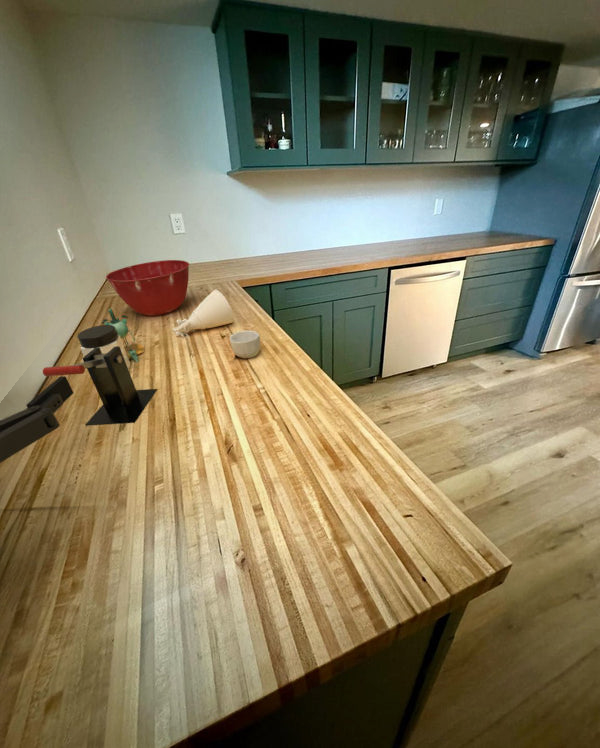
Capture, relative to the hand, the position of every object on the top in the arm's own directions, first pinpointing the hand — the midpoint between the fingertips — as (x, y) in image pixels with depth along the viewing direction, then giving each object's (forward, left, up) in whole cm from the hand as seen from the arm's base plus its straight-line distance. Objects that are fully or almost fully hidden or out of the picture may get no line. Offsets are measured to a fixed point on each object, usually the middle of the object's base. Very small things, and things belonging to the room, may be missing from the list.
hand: (19, 387), depth 46 cm
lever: (-2, +13, -5) cm, 14 cm away
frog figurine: (-19, +42, -18) cm, 49 cm away
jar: (-16, +32, -18) cm, 40 cm away
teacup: (+15, +45, -18) cm, 51 cm away
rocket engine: (-5, +62, -18) cm, 65 cm away
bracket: (-3, +18, -18) cm, 25 cm away
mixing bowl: (-31, +80, -18) cm, 88 cm away
